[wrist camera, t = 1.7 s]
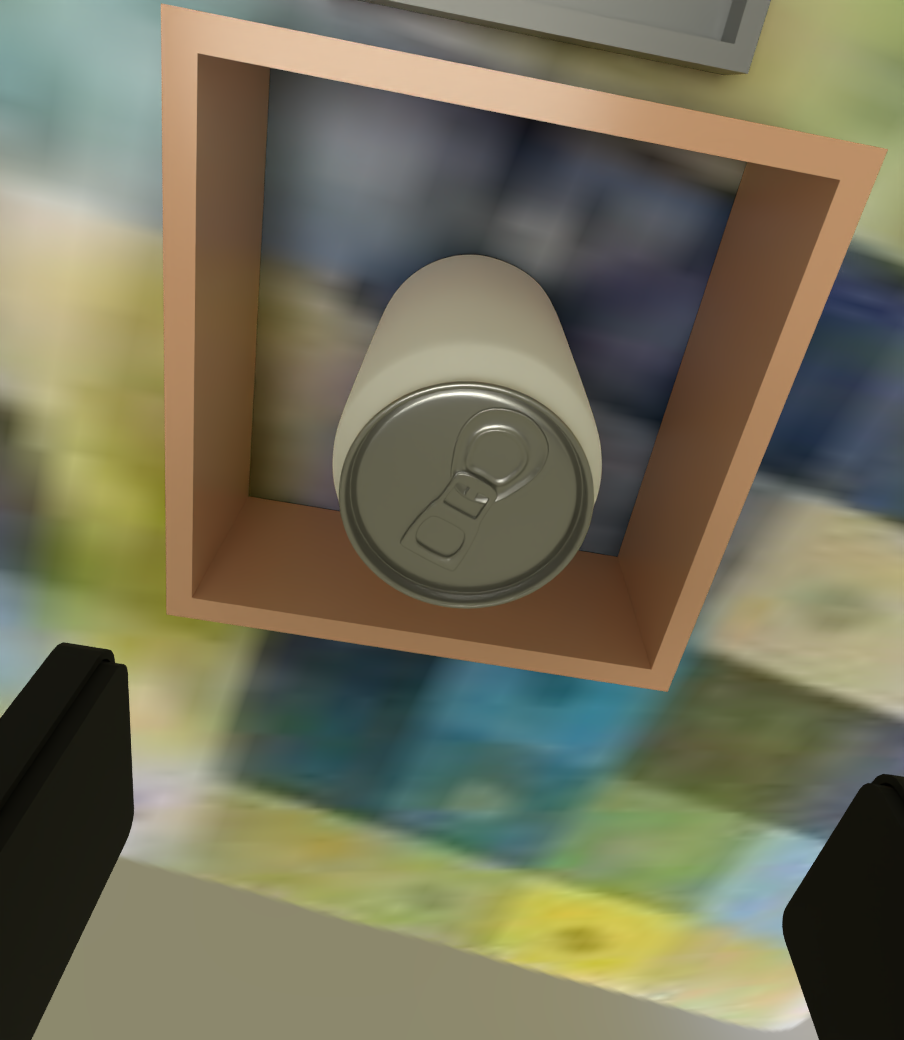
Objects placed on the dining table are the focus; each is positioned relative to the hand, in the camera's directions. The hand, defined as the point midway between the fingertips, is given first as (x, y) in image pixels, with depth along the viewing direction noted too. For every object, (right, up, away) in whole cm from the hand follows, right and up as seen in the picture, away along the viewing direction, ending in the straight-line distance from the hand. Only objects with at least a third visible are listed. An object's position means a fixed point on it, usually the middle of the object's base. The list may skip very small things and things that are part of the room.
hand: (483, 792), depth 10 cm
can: (0, +10, +18) cm, 20 cm away
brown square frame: (0, +10, +18) cm, 20 cm away
